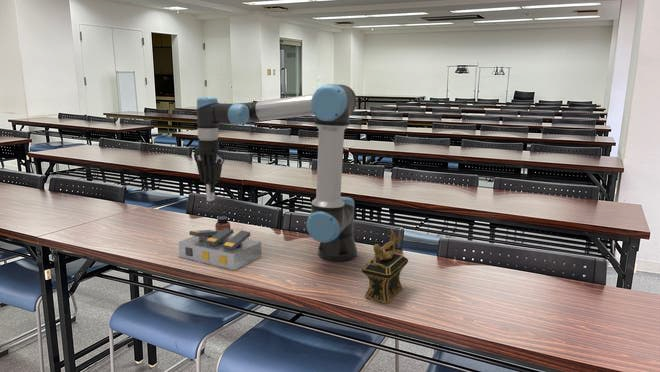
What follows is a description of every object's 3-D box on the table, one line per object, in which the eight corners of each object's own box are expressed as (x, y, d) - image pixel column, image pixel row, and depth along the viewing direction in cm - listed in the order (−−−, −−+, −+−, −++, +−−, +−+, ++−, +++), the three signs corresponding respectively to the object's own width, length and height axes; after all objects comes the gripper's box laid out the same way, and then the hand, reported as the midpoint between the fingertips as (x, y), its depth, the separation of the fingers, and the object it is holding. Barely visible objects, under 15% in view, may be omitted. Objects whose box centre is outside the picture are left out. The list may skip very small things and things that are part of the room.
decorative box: (388, 307, 139) (391, 244, 135) (359, 299, 144) (361, 238, 140) (411, 284, 156) (415, 227, 152) (384, 277, 161) (387, 222, 157)
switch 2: (233, 232, 179) (233, 229, 178) (214, 245, 170) (214, 241, 169) (225, 231, 180) (224, 227, 180) (206, 243, 171) (205, 240, 171)
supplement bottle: (224, 240, 195) (224, 214, 192) (233, 244, 191) (233, 217, 188) (212, 244, 190) (212, 217, 188) (222, 247, 186) (221, 220, 184)
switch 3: (250, 235, 175) (249, 231, 174) (232, 250, 166) (231, 246, 166) (241, 233, 177) (241, 230, 176) (223, 248, 168) (222, 244, 167)
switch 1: (217, 235, 182) (217, 231, 182) (197, 236, 173) (197, 232, 173) (209, 233, 184) (209, 229, 184) (189, 234, 174) (189, 230, 174)
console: (261, 256, 178) (261, 239, 176) (233, 270, 164) (233, 252, 162) (208, 244, 189) (208, 228, 188) (178, 257, 175) (177, 239, 174)
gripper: (228, 139, 175) (230, 200, 180) (202, 137, 181) (204, 196, 186) (215, 141, 168) (217, 204, 173) (188, 138, 174) (190, 200, 179)
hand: (210, 200), depth 180 cm, fingers closed
